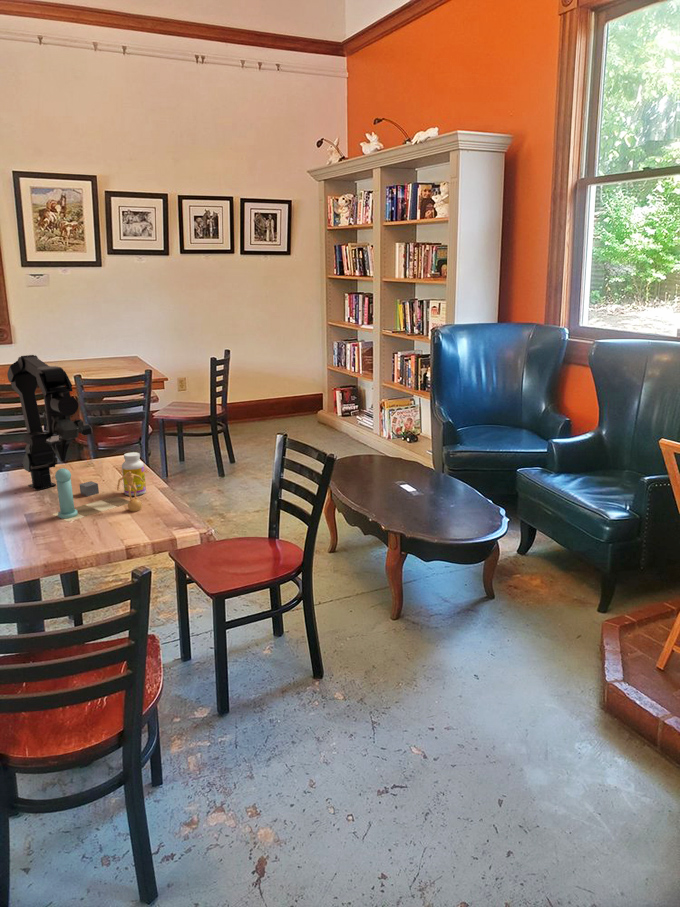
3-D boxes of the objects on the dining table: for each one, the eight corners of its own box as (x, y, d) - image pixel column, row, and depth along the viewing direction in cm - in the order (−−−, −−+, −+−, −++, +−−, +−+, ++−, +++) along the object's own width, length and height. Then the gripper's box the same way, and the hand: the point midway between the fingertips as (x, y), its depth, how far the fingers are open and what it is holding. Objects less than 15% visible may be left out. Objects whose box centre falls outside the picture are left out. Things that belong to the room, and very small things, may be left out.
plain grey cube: (80, 496, 214) (79, 484, 213) (92, 493, 217) (91, 481, 216) (87, 499, 212) (86, 486, 211) (99, 495, 215) (97, 483, 214)
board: (50, 516, 197) (50, 514, 197) (115, 497, 212) (115, 495, 212) (68, 524, 191) (67, 522, 191) (134, 504, 206) (133, 502, 206)
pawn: (54, 515, 195) (48, 469, 192) (72, 510, 199) (66, 464, 195) (64, 520, 192) (58, 472, 188) (81, 514, 196) (75, 468, 192)
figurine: (123, 516, 196) (119, 477, 193) (117, 511, 201) (112, 472, 198) (151, 510, 201) (148, 471, 197) (144, 505, 205) (141, 467, 202)
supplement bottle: (147, 495, 214) (143, 455, 211) (125, 497, 212) (120, 458, 209) (145, 488, 220) (141, 450, 217) (124, 491, 218) (120, 452, 215)
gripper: (38, 420, 189) (45, 473, 194) (99, 409, 203) (104, 459, 207) (19, 414, 196) (27, 466, 201) (80, 404, 210) (85, 453, 214)
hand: (62, 461), depth 206 cm, fingers closed
